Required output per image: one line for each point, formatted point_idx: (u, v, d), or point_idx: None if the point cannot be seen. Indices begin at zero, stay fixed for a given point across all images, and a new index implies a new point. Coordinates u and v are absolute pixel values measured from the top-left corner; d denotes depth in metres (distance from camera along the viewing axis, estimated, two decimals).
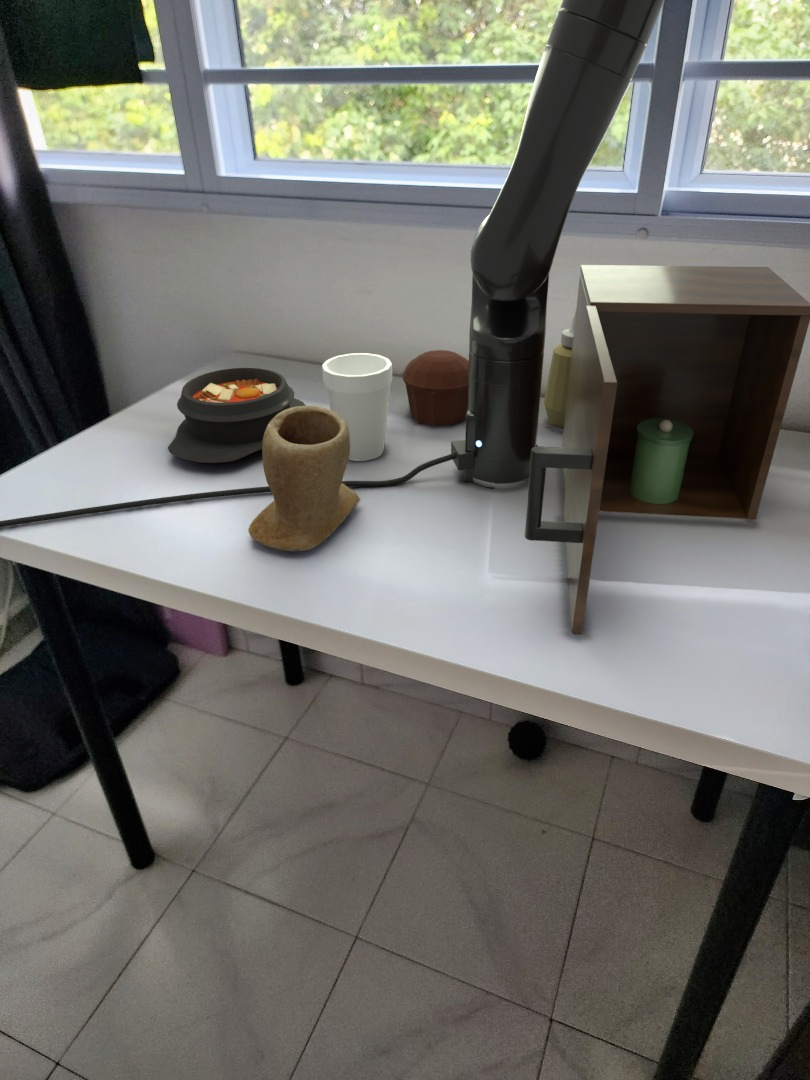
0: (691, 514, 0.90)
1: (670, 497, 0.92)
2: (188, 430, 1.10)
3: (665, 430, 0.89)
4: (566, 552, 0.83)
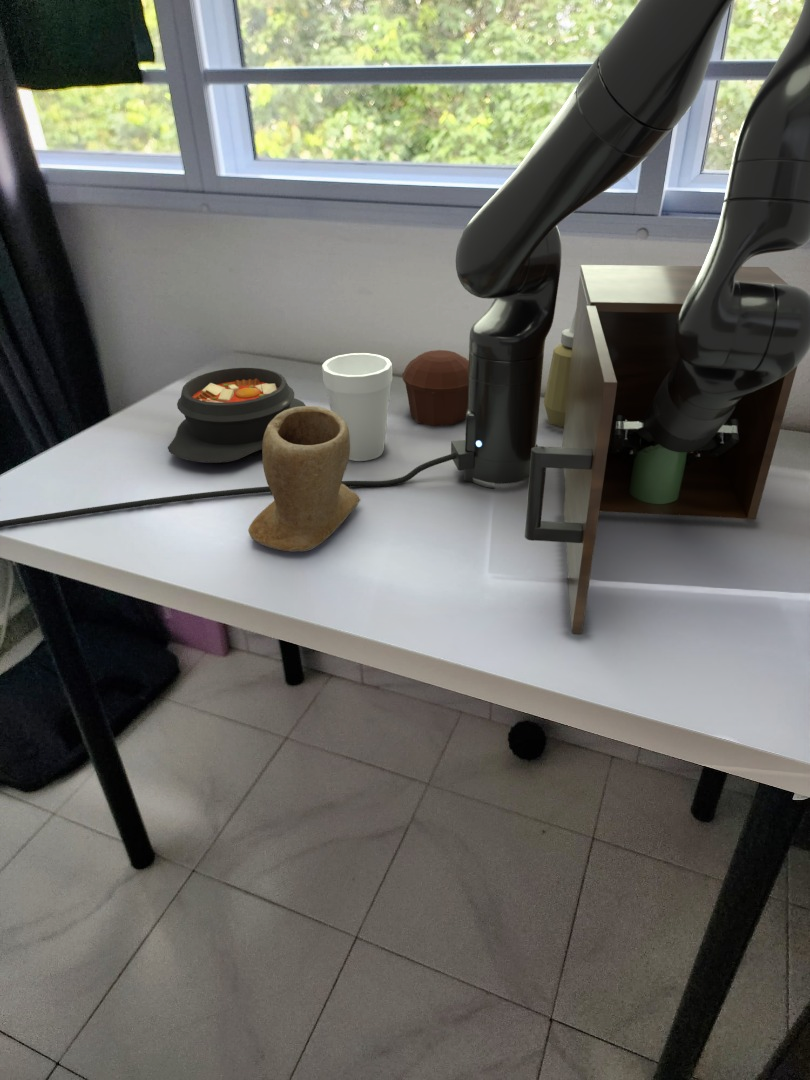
0: (691, 514, 0.90)
1: (670, 497, 0.92)
2: (188, 430, 1.10)
3: None
4: (566, 552, 0.83)
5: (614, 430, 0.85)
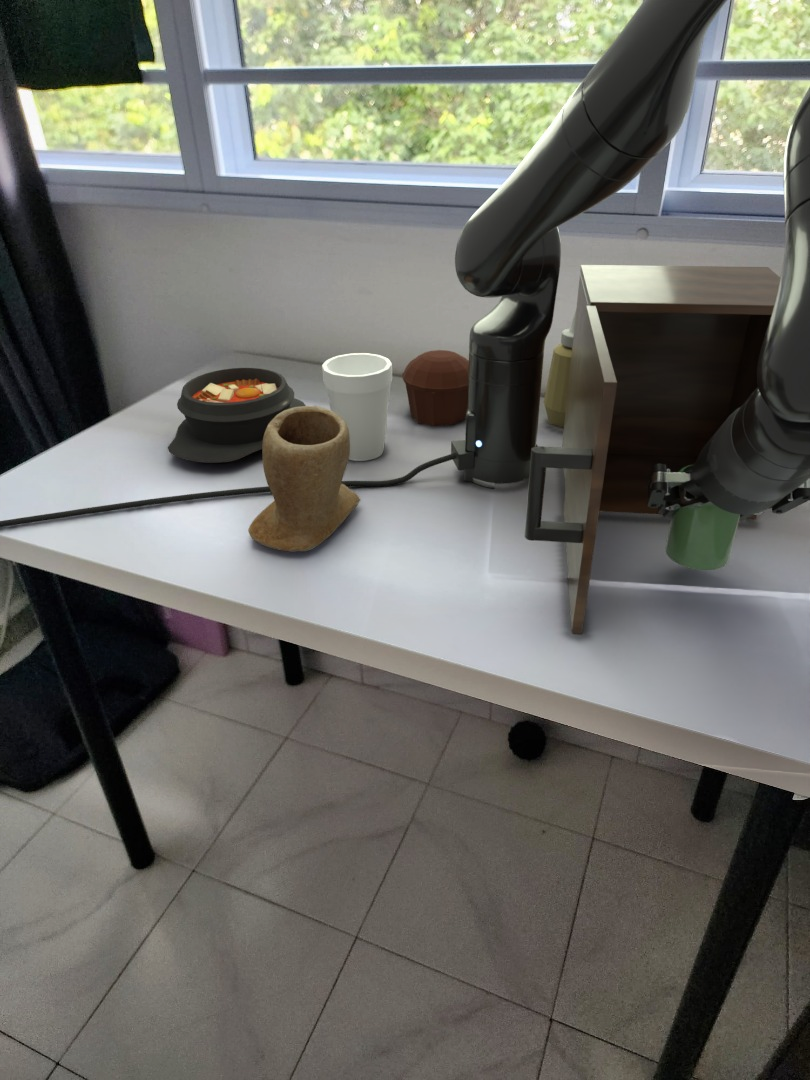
0: None
1: (719, 562, 0.74)
2: (188, 430, 1.10)
3: None
4: (566, 552, 0.83)
5: (653, 483, 0.67)
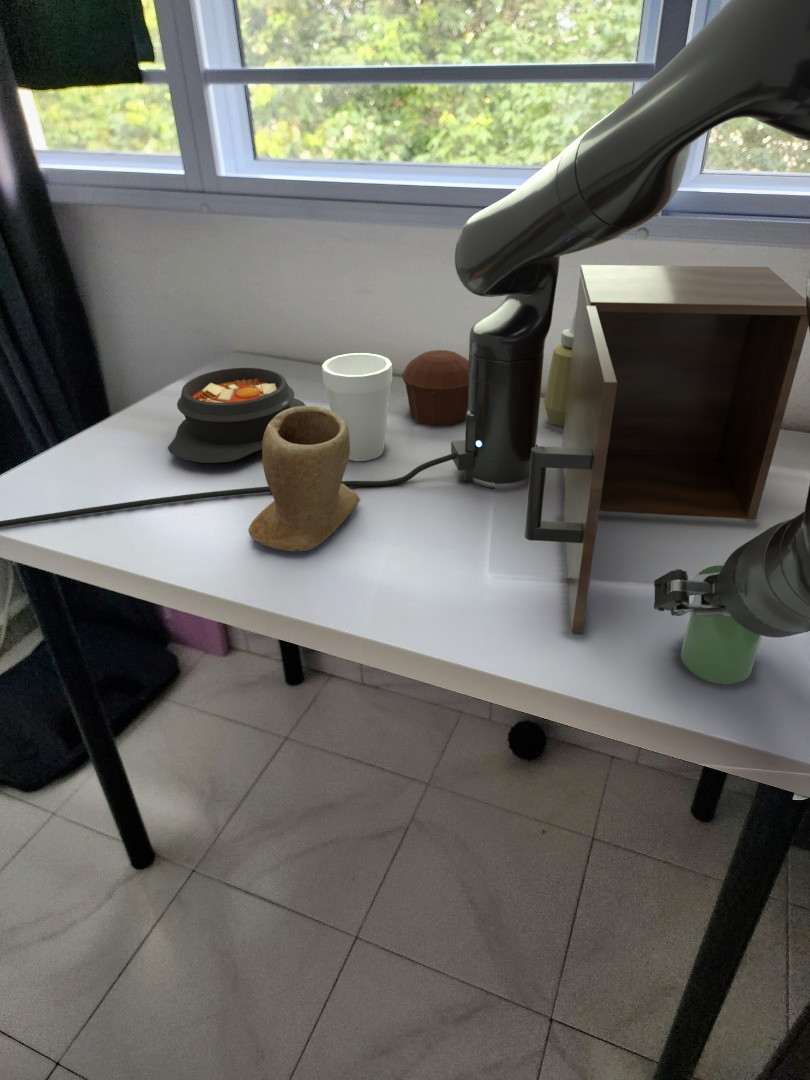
0: (691, 514, 0.90)
1: (741, 676, 0.67)
2: (188, 430, 1.10)
3: None
4: (566, 552, 0.83)
5: (673, 592, 0.59)
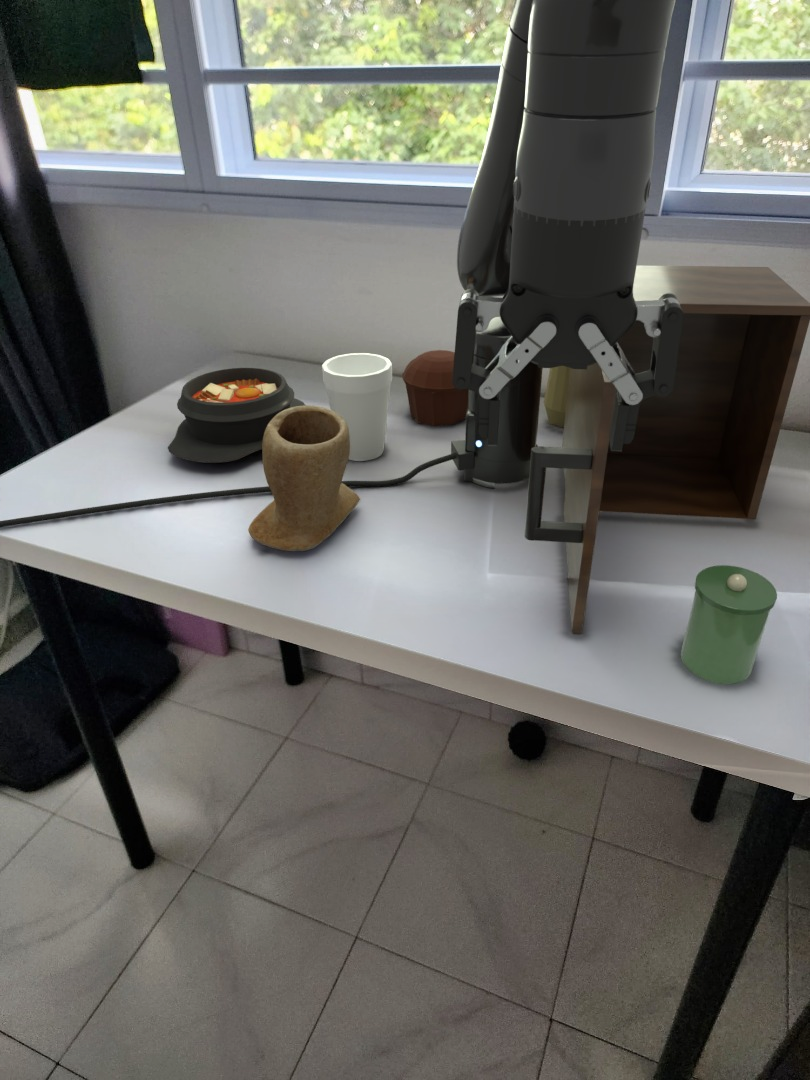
0: (691, 514, 0.90)
1: (741, 676, 0.67)
2: (188, 430, 1.10)
3: (737, 589, 0.64)
4: (566, 552, 0.83)
5: (460, 303, 0.47)
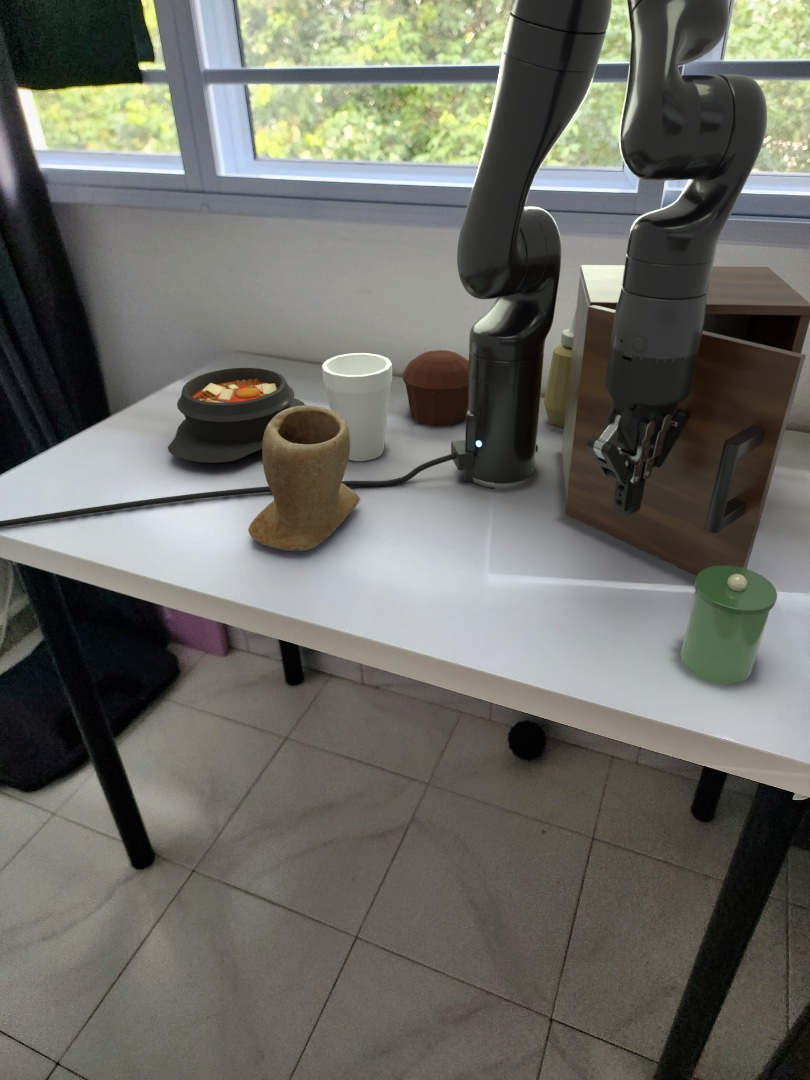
0: None
1: (741, 676, 0.67)
2: (188, 430, 1.10)
3: (737, 589, 0.64)
4: (627, 543, 0.85)
5: (602, 451, 0.67)
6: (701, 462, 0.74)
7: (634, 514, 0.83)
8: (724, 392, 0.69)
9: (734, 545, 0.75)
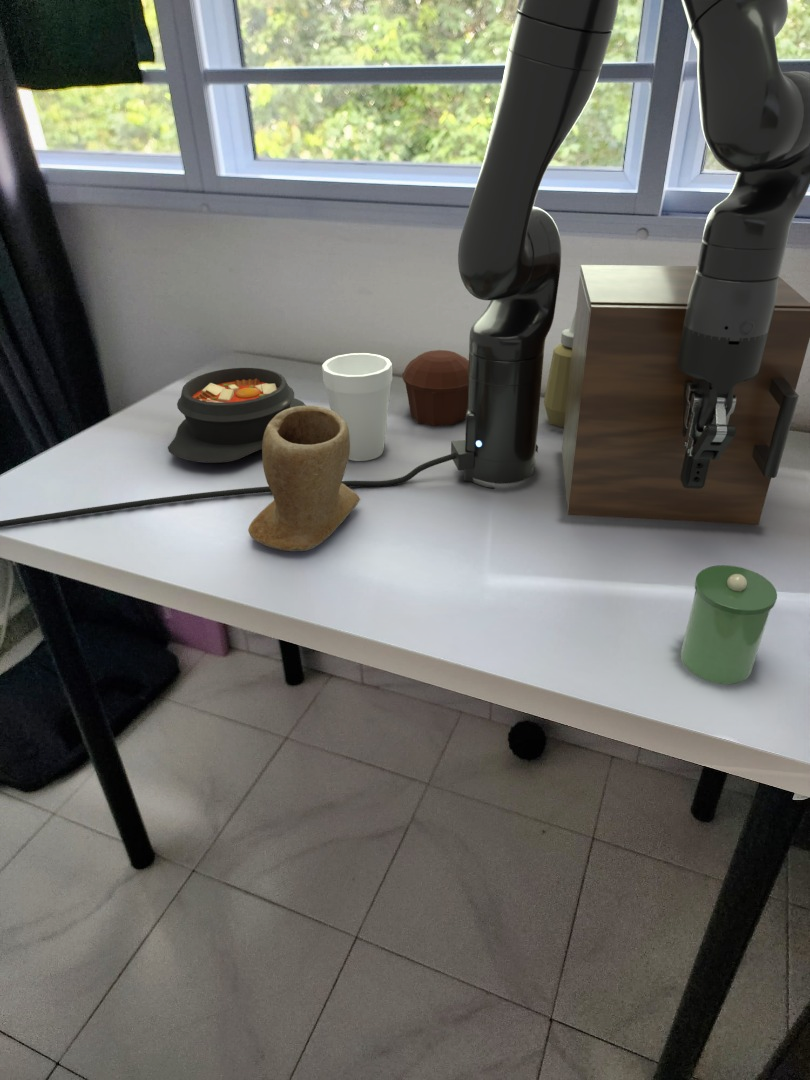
0: None
1: (741, 676, 0.67)
2: (188, 430, 1.10)
3: (737, 589, 0.64)
4: (643, 518, 0.89)
5: (727, 434, 0.70)
6: None
7: (651, 489, 0.87)
8: None
9: (756, 484, 0.85)
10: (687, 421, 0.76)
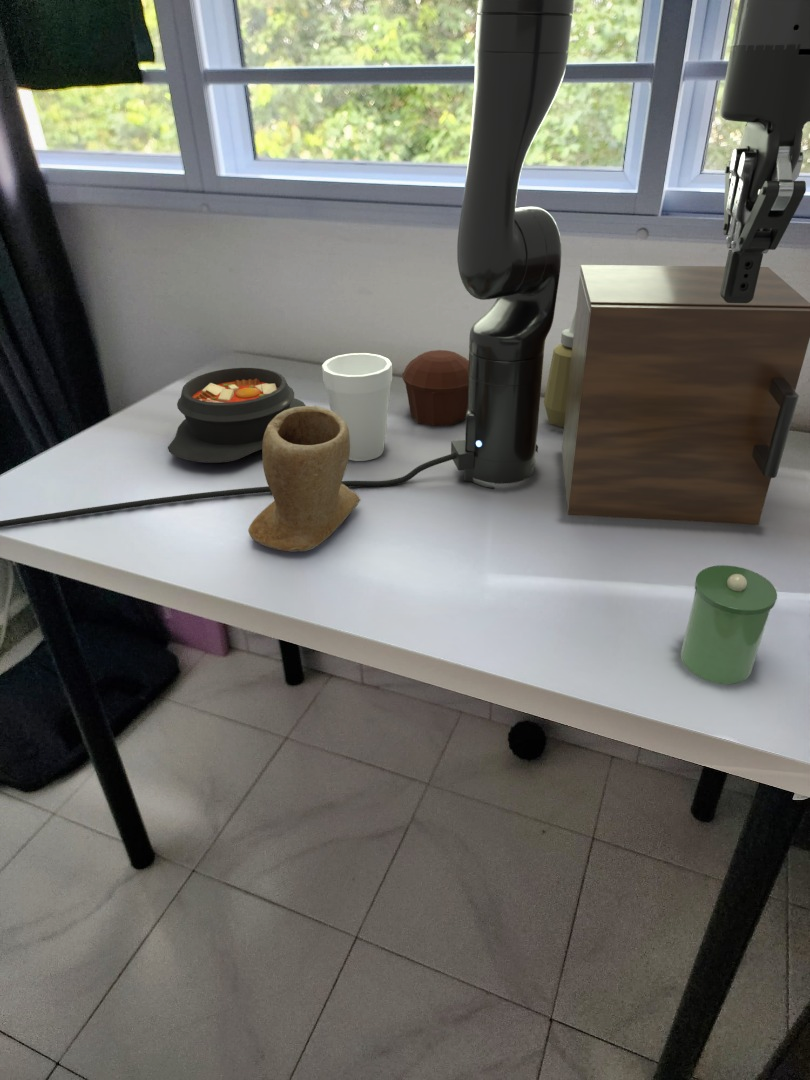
0: None
1: (741, 676, 0.67)
2: (188, 430, 1.10)
3: (737, 589, 0.64)
4: (643, 518, 0.89)
5: (793, 193, 0.50)
6: (722, 423, 0.82)
7: (651, 489, 0.87)
8: (745, 356, 0.78)
9: (756, 484, 0.85)
10: (732, 203, 0.56)
